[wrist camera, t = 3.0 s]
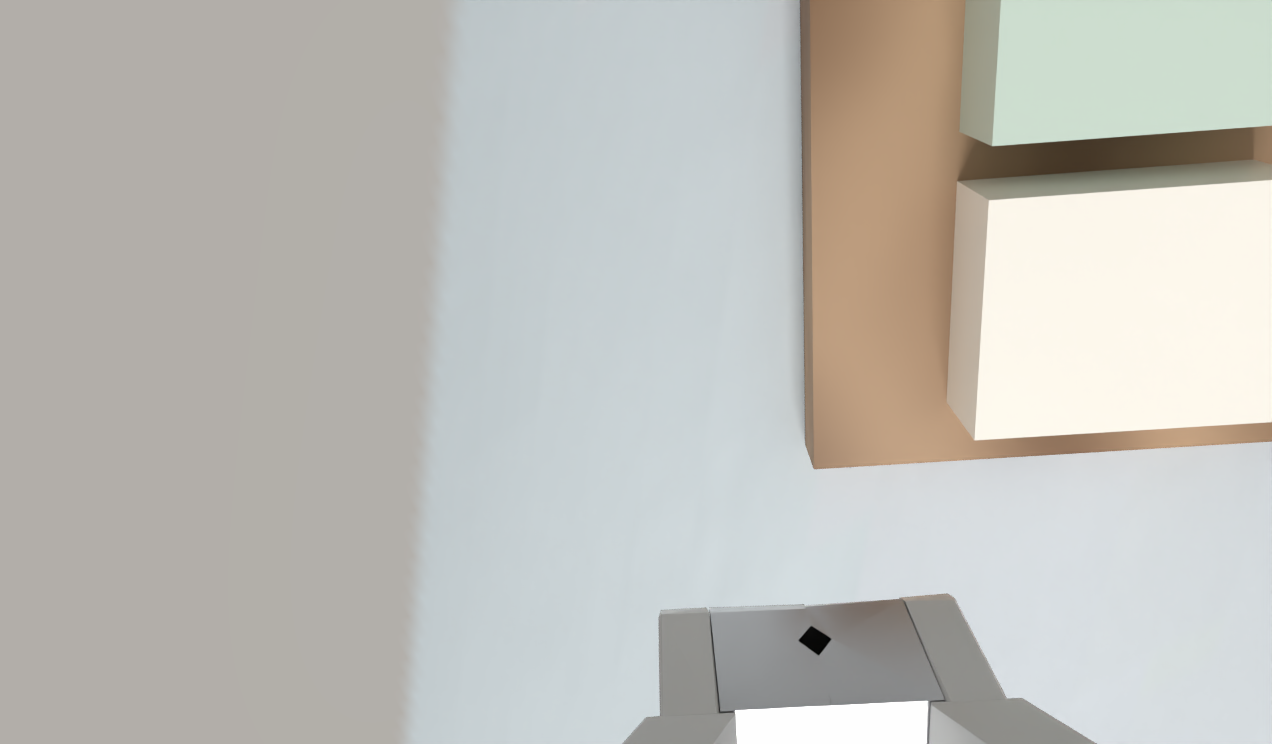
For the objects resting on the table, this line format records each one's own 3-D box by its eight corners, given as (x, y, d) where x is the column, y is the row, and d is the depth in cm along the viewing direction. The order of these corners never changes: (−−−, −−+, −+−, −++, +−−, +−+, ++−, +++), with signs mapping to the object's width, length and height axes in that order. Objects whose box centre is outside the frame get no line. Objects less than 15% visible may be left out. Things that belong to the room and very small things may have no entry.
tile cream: (1253, 159, 20) (1317, 176, 18) (1217, 384, 21) (1271, 422, 19) (957, 181, 20) (988, 200, 18) (946, 402, 22) (974, 440, 20)
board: (1441, -268, 18) (1498, -287, 17) (1305, 413, 23) (1341, 437, 22) (797, -210, 18) (808, -225, 17) (805, 444, 23) (813, 469, 22)
